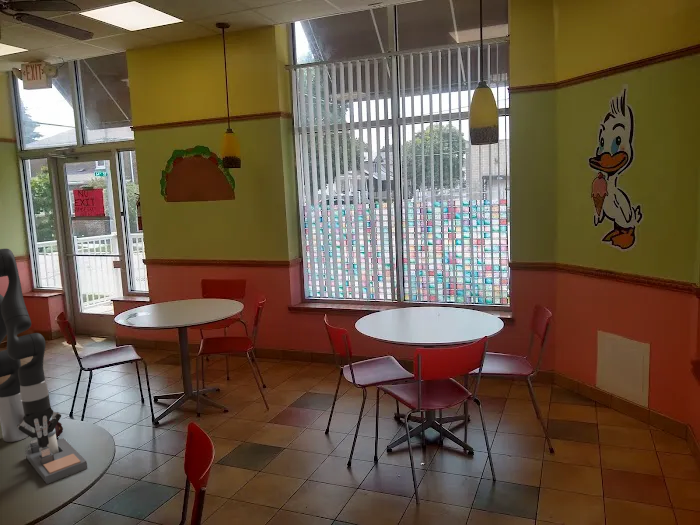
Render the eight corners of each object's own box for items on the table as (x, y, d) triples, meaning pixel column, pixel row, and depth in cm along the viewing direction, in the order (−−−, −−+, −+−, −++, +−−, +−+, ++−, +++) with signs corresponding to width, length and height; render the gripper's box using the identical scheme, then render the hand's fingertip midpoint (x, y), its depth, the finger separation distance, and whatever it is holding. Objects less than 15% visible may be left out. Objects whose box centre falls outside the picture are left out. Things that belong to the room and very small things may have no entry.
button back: (32, 449, 188) (30, 441, 188) (39, 446, 190) (38, 438, 189) (33, 451, 186) (32, 443, 186) (41, 449, 188) (40, 440, 187)
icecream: (61, 426, 196) (66, 414, 210) (38, 426, 193) (45, 414, 207) (59, 446, 196) (64, 432, 210) (35, 445, 193) (42, 432, 207)
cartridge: (43, 459, 186) (37, 431, 184) (57, 453, 189) (52, 426, 187) (47, 463, 183) (41, 435, 181) (61, 458, 186) (57, 430, 184)
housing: (26, 458, 188) (24, 445, 187) (64, 444, 196) (62, 432, 195) (46, 484, 169) (44, 470, 169) (87, 468, 177) (85, 455, 177)
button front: (40, 457, 179) (39, 448, 179) (48, 454, 181) (47, 445, 180) (42, 459, 177) (41, 450, 177) (50, 456, 179) (49, 447, 178)
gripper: (54, 386, 183) (62, 435, 185) (8, 399, 174) (18, 451, 177) (60, 392, 177) (69, 442, 180) (14, 405, 169) (23, 458, 171)
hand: (43, 446), depth 178 cm, fingers closed
